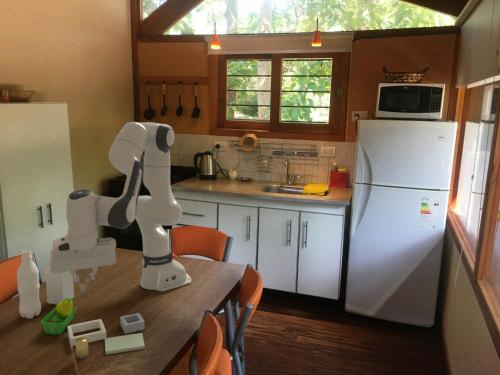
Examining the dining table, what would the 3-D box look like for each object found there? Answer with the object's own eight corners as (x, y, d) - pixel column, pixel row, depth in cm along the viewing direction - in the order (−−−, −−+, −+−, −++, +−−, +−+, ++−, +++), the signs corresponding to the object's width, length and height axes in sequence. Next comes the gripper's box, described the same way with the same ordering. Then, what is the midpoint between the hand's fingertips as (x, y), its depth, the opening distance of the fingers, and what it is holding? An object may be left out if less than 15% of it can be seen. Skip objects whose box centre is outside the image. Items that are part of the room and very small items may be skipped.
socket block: (139, 322, 153) (139, 312, 153) (144, 331, 148) (144, 321, 147) (120, 327, 150) (120, 316, 149) (124, 336, 144) (124, 325, 144)
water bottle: (25, 310, 159) (20, 248, 154) (44, 310, 160) (40, 248, 155) (16, 320, 152) (11, 254, 147) (37, 320, 153) (32, 254, 148)
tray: (101, 328, 149) (101, 318, 148) (106, 340, 141) (106, 331, 141) (68, 335, 144) (67, 325, 143) (71, 349, 136) (70, 339, 135)
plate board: (142, 339, 144) (142, 332, 143) (144, 352, 136) (144, 345, 136) (105, 345, 140) (104, 338, 139) (105, 358, 132) (105, 351, 132)
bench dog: (87, 353, 134) (86, 336, 133) (89, 359, 131) (88, 341, 130) (75, 356, 132) (74, 338, 131) (77, 362, 129) (76, 344, 128)
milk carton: (63, 305, 164) (60, 259, 160) (47, 303, 166) (44, 257, 162) (74, 297, 171) (71, 253, 167) (58, 295, 172) (56, 251, 169)
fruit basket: (56, 319, 154) (54, 290, 152) (80, 320, 154) (79, 291, 152) (40, 335, 143) (38, 305, 141) (66, 337, 143) (64, 306, 141)
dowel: (89, 292, 142) (88, 264, 140) (91, 296, 139) (89, 267, 137) (79, 294, 140) (78, 265, 138) (80, 298, 137) (79, 269, 135)
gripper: (113, 233, 143) (114, 272, 146) (47, 241, 134) (50, 282, 136) (117, 239, 138) (118, 278, 141) (49, 247, 128) (51, 290, 131)
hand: (84, 280), depth 138 cm, fingers closed on dowel, 3 cm apart
